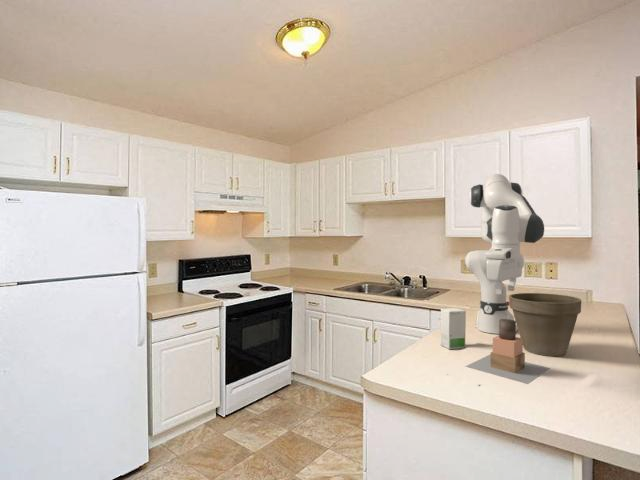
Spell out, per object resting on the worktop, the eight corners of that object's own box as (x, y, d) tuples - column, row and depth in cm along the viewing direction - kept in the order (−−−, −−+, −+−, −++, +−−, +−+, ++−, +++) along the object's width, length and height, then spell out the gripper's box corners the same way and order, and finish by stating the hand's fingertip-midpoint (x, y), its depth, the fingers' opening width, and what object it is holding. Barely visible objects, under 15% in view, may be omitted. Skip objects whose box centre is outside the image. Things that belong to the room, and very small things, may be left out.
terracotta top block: (501, 348, 132) (501, 334, 132) (522, 352, 126) (522, 338, 126) (492, 352, 127) (492, 337, 127) (514, 357, 122) (514, 342, 122)
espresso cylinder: (503, 335, 130) (503, 318, 130) (518, 338, 126) (518, 320, 126) (496, 338, 127) (496, 320, 127) (511, 341, 123) (512, 323, 123)
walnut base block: (500, 361, 133) (500, 347, 132) (524, 367, 126) (524, 352, 126) (490, 366, 127) (490, 352, 127) (515, 373, 121) (515, 358, 121)
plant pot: (495, 345, 157) (495, 294, 156) (537, 339, 165) (537, 290, 165) (550, 364, 133) (550, 304, 133) (596, 356, 142) (597, 299, 141)
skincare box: (448, 349, 151) (448, 311, 151) (439, 345, 157) (439, 308, 157) (466, 348, 153) (466, 310, 153) (456, 343, 159) (456, 307, 159)
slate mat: (491, 357, 141) (491, 353, 141) (550, 372, 126) (550, 368, 126) (465, 370, 128) (465, 366, 128) (527, 388, 113) (527, 384, 113)
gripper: (508, 250, 137) (508, 287, 138) (483, 253, 124) (483, 294, 124) (527, 251, 133) (526, 289, 133) (502, 254, 119) (502, 297, 120)
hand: (505, 292), depth 129 cm, fingers open, 8 cm apart
